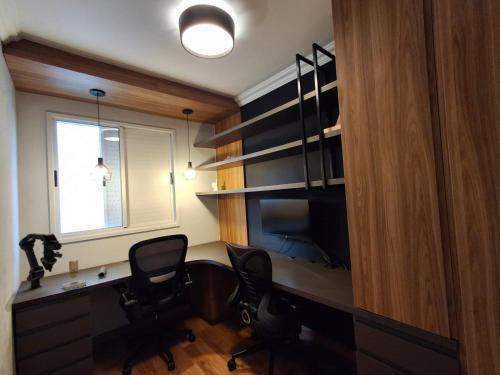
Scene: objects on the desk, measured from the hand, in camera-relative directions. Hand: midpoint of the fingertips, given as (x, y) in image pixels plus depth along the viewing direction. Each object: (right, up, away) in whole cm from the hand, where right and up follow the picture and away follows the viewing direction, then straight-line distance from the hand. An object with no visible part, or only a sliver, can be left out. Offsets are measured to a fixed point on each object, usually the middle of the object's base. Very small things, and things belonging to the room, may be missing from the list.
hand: (48, 271), depth 181 cm
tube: (+23, -14, +30) cm, 40 cm away
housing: (+19, -12, 0) cm, 23 cm away
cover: (+19, -5, +1) cm, 19 cm away
